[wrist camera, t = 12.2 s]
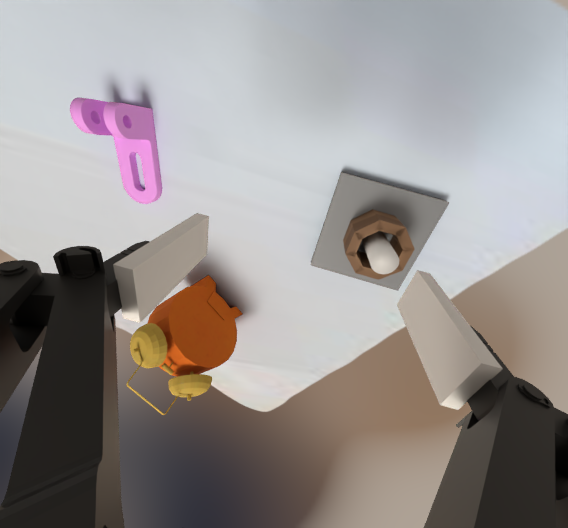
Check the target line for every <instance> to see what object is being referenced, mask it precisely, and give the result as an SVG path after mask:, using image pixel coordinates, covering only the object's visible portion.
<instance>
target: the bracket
mask: <svg viewBox="0 0 568 528" xmlns="http://www.w3.org/2000/svg"><path fill="white" fill-rule="evenodd" d="M70 113H71V116H72V119H73V121H74V123H75V124H76V125H77V127H78V128H79V129H81V130H82V131H83V132H86V133H90V134H97V135H112V136H113V137H114V141H115V146H116V151H117V156H118V161H119V166H120V171H121V176H122V181H123V185H124V188H125V190H126V192H127V193H128V195H129V196H130V197H131V198H132V199H134V200H135V201H137V202H139V203H142V204H148V203H151V202H154V201H156V200H158V199H159V198H160V196H161V193H162V184H161V176H160V168H159V160H158V152H157V144H156V135H155V127H154V119H153V111H152V109H150V108H145V107H140V106H135V105H130V104H125V103H117V102H104V101H99V100H93V99H87V98H75V99H74V100H73V101H72V102H71V105H70ZM136 153H138V154H139V156H140V157H141V162H142V168H143V175H144V181H145V190H144V189H143V188H142V187H141V186H140V182H139V176H138V170H137V164H136V158H135V155H136Z"/></svg>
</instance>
